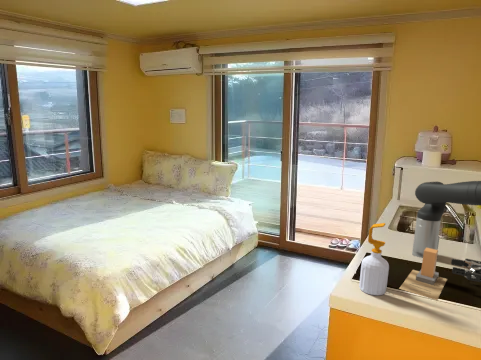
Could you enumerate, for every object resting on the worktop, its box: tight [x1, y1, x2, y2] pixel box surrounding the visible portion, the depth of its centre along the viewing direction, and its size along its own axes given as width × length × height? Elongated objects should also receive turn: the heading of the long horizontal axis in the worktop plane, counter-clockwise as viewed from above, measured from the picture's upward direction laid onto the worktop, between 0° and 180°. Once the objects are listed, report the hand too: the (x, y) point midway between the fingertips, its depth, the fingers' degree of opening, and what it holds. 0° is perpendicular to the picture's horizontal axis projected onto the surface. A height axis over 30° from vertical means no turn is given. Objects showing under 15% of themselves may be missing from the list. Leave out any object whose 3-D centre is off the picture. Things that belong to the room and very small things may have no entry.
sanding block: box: [416, 248, 439, 285], centre depth 136 cm, size 9×6×11 cm, turn 143°
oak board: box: [398, 269, 448, 301], centre depth 133 cm, size 20×12×2 cm, turn 142°
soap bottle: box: [358, 222, 390, 296], centre depth 128 cm, size 9×9×25 cm
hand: (451, 265), depth 133 cm, fingers open, 8 cm apart
